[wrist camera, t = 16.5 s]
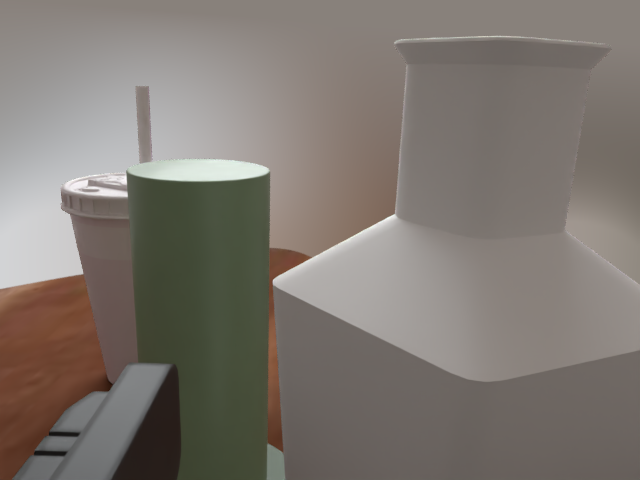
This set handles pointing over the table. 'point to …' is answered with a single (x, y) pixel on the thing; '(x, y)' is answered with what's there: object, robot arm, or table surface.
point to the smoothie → (109, 249)
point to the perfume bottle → (468, 293)
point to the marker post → (207, 306)
